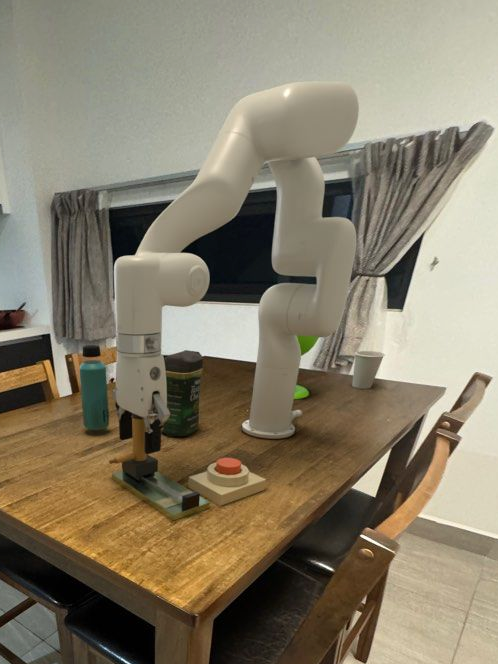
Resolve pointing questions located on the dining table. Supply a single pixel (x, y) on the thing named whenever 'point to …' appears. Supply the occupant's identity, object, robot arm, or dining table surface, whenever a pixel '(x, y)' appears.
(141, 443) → the nozzle
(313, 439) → the dining table surface
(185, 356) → the coffee jar
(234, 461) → the button
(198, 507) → the rail
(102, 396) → the beverage bottle
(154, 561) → the dining table surface
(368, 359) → the dixie cup
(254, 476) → the button box
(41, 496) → the dining table surface
